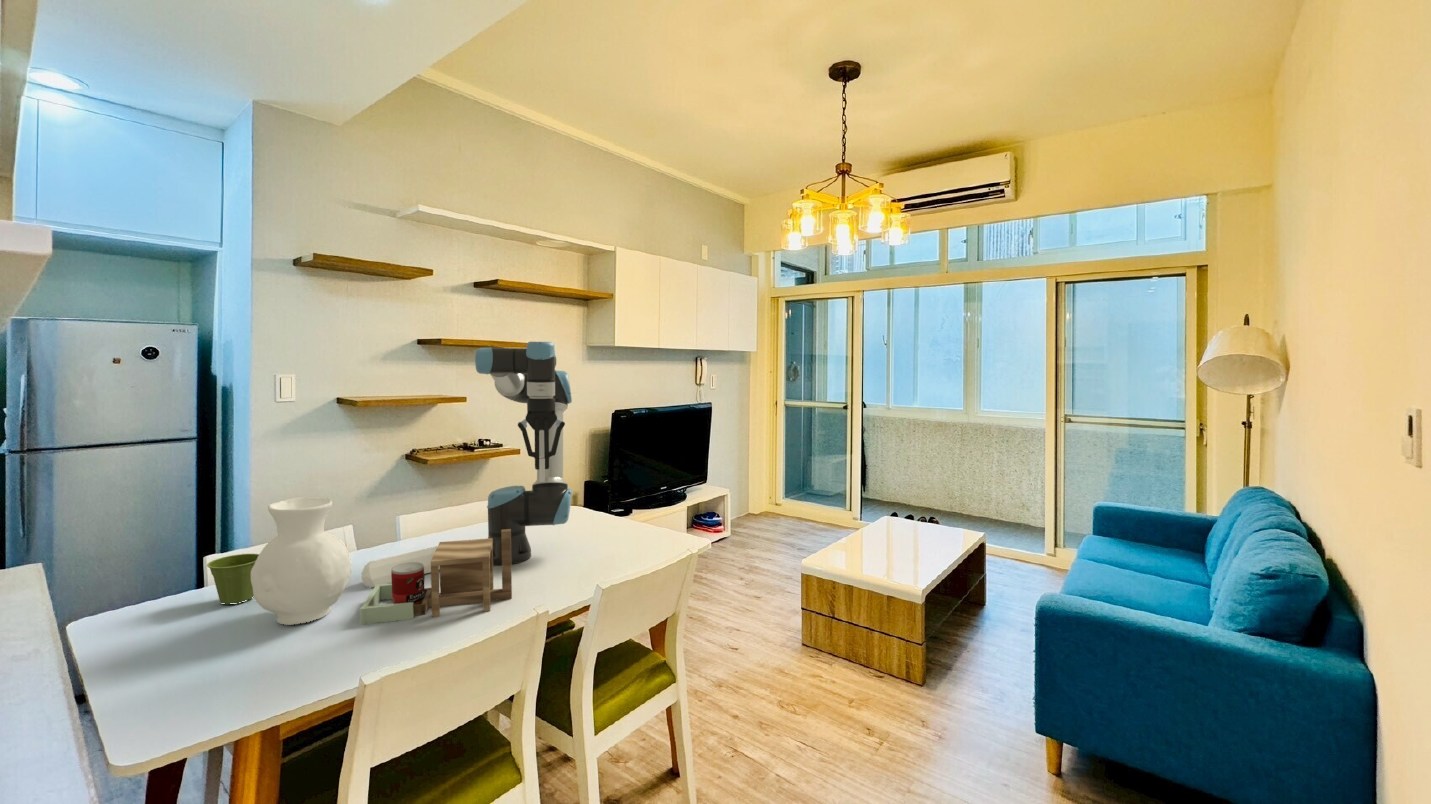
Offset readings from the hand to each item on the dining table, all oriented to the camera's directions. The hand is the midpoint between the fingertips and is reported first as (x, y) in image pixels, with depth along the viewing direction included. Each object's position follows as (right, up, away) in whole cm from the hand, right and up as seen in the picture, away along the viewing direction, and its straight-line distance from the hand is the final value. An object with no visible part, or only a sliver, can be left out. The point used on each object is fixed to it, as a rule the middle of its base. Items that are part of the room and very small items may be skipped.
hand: (542, 480), depth 171 cm
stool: (-20, -33, -5) cm, 39 cm away
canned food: (-33, -33, -8) cm, 48 cm away
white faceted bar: (-45, -31, +13) cm, 57 cm away
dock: (-36, -33, -10) cm, 50 cm away
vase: (-56, -33, -16) cm, 67 cm away
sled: (-23, -33, -5) cm, 40 cm away
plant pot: (-81, -32, -6) cm, 88 cm away
